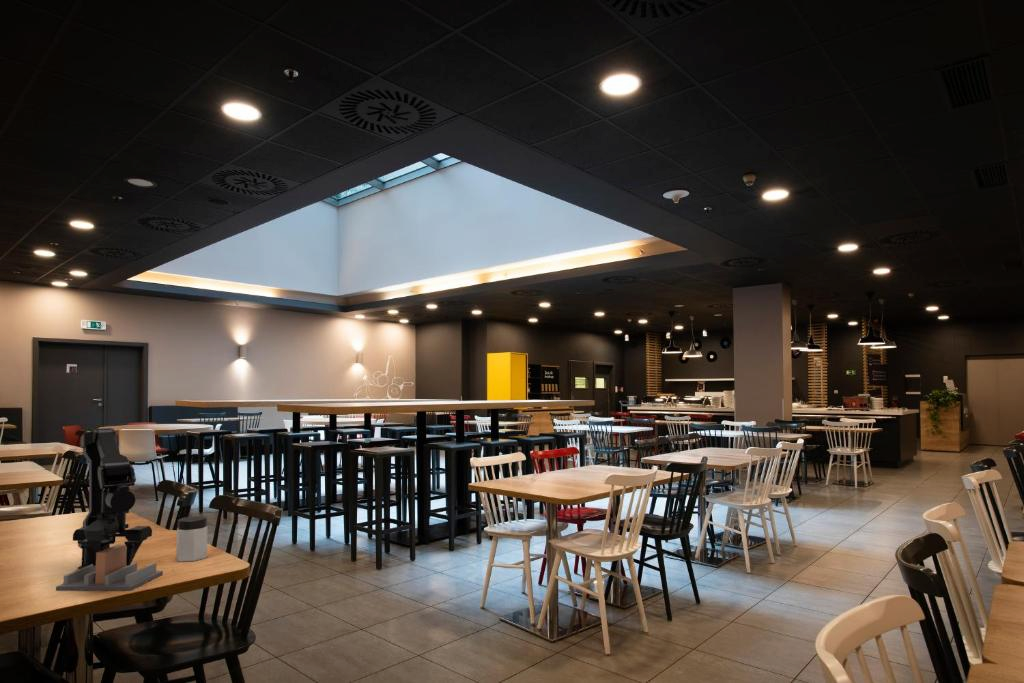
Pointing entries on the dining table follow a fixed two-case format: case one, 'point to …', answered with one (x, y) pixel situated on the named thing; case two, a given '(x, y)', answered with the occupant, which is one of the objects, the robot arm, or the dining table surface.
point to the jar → (191, 538)
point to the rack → (110, 578)
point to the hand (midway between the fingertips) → (111, 565)
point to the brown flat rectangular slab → (109, 561)
